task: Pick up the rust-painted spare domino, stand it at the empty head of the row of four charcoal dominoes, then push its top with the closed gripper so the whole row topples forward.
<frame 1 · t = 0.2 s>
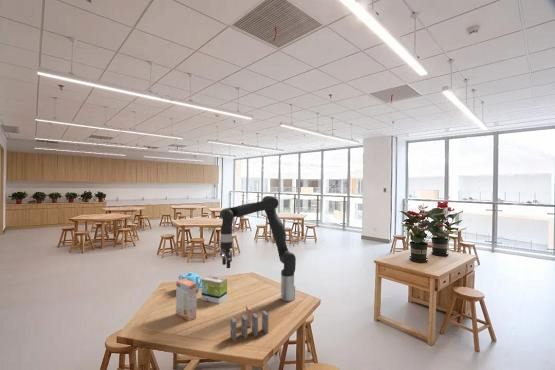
hand: (226, 266, 170), 29 cm above the table, fingers open, 8 cm apart
domino 2: (265, 331, 148), on the table
domino 4: (244, 336, 142), on the table
tea box: (214, 299, 188), on the table
domino 3: (254, 333, 145), on the table
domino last: (233, 339, 140), on the table
decorative pot: (190, 290, 204), on the table
cracker box: (186, 316, 164), on the table
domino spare: (248, 324, 154), on the table
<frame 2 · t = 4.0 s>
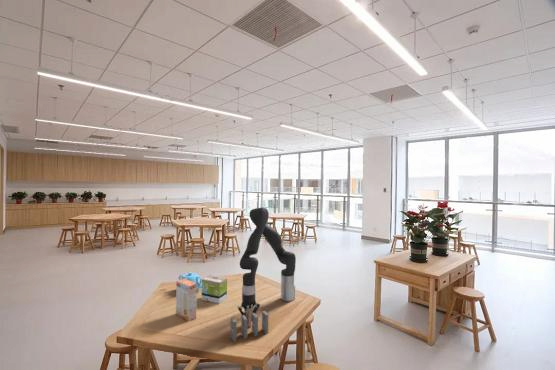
hand: (248, 322, 154), 2 cm above the table, fingers closed on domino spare, 1 cm apart
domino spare: (248, 324, 154), on the table, touching gripper
everything else where it was.
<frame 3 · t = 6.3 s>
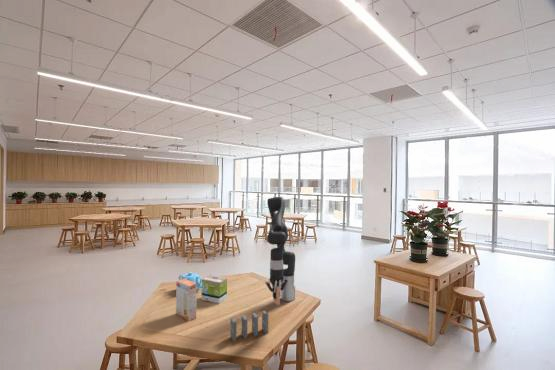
hand: (276, 298, 151), 17 cm above the table, fingers closed on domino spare, 1 cm apart
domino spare: (276, 303, 151), point 14 cm above the table, touching gripper
everything else where it was.
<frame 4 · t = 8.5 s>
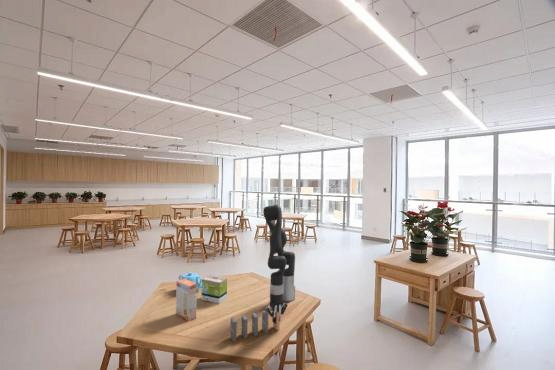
hand: (276, 322, 150), 3 cm above the table, fingers closed on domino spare, 1 cm apart
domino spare: (276, 328, 150), on the table, touching gripper
everything else where it was.
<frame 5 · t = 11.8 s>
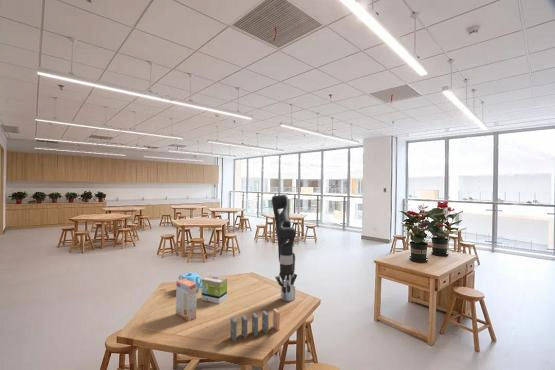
hand: (286, 292, 153), 19 cm above the table, fingers closed
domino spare: (276, 328, 150), on the table
everything else where it was.
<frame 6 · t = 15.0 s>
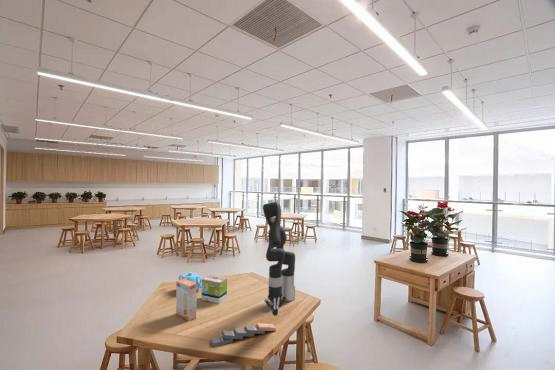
hand: (275, 315, 150), 8 cm above the table, fingers closed
domino 2: (262, 330, 147), point 1 cm above the table, tilted 75°, touching domino 3, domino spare
domino 4: (241, 335, 142), point 1 cm above the table, tilted 74°, touching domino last
domino 3: (252, 332, 144), point 1 cm above the table, tilted 75°, touching domino 2
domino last: (231, 338, 139), point 1 cm above the table, tilted 90°, touching domino 4
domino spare: (274, 327, 150), point 1 cm above the table, tilted 76°, touching domino 2
everything else where it was.
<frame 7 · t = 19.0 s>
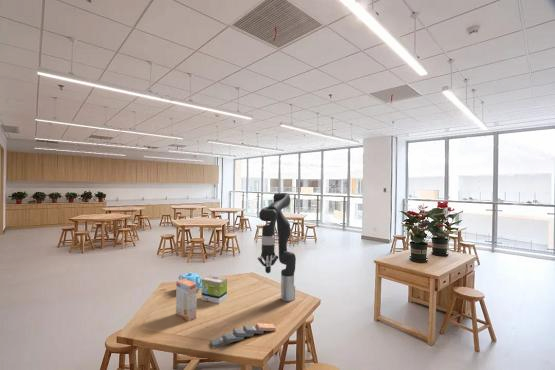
hand: (267, 272, 157), 29 cm above the table, fingers closed
domino 4: (241, 336, 141), point 1 cm above the table, tilted 77°, touching domino 3, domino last
domino 3: (251, 332, 144), point 1 cm above the table, tilted 74°, touching domino 2, domino 4
at the end: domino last tilted 89°; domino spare tilted 76°; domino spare inside the target area (1.0 cm from its centre), point 0.8 cm above the table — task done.
